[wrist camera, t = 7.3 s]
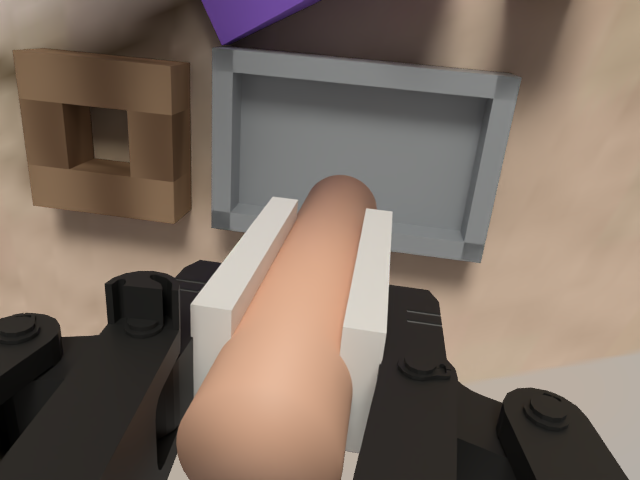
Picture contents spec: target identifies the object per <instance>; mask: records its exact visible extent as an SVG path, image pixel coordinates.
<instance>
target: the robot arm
mask: <svg viewBox="0 0 640 480" xmlns="http://www.w3.org/2000/svg"><path fill="white" fill-rule="evenodd" d="M297 210H298V200H296V199H288V198H280V197H272V198H271V200H270V201H269V202H268V204H267V205H266V206H265V207H264V209H263V210H262V211H261V213H260V214H259V215H258V217H257V218H256V219H255V221H254V222H253V223H252V224H251V226H250V227H249V228H248V230H247V231H246V232H245V234H244V235H243V236H242V238H241V239H240V240H239V241H238V243H237V244H236V245H235V247H234V248H233V249H232V251H231V252H230V253H229V255H228V256H227V257H226V258H225V260H224V261H223V262H222V263H218V262H211V261H203V260H199V261H197V262H195V263H193V264H191V265H189V266H187V267H185V268H184V269H183V270H182V271H181V272H180V273H179V274H178V275H177V276H176V277H175V278H174V277H172V276H170V275H168V274H166V273H161V272H155V271H137V272H131V273H125V274H122V275H120V276H117V277H114V278H112V279H111V280H109V281H108V282H107V283H105V293H106V305H107V318H108V324H107V326H106V327H105V328H104V329H103V331H102V332H101V333H100V335H94V336H76V337H61V330H60V325H59V323H58V322H57V320H56V319H55V318H52V317H50V316H48V315H44V314H36V313H25V314H24V313H21V314H14V315H12V316H9V317H5V318H1V319H0V480H167V479H168V476H169V473H170V471H171V468H172V465H173V463H174V460H175V458H176V455H177V446H176V439H177V432H178V428H179V425H180V422H181V420H182V418H183V416H184V415H185V413H186V411H187V409H188V408H189V406H190V404H191V402H192V400H193V399H194V397H195V395H196V393H197V392H198V390H199V388H200V386H201V384H202V383H203V381H204V379H205V377H206V375H207V374H208V372H209V370H210V368H211V367H212V365H213V363H214V361H215V359H216V358H217V356H218V354H219V352H220V351H221V349H222V348H223V346H224V345H225V344H226V343H227V342H228V341H229V340H230V339H231V338H232V336H233V334H234V332H235V330H236V328H237V327H238V325H239V323H240V321H241V319H242V318H243V316H244V314H245V312H246V310H247V308H248V307H249V305H250V303H251V301H252V299H253V298H254V296H255V294H256V292H257V290H258V288H259V287H260V285H261V283H262V281H263V279H264V278H265V276H266V274H267V272H268V270H269V268H270V267H271V265H272V263H273V261H274V259H275V258H276V256H277V254H278V252H279V250H280V248H281V247H282V245H283V243H284V241H285V239H286V238H287V236H288V234H289V232H290V230H291V228H292V227H293V225H294V223H295V221H296V219H297ZM392 213H393V212H392V211H384V210H376V209H368V208H366V212H365V217H364V222H363V227H362V232H361V237H360V242H359V247H358V253H357V258H356V263H355V268H354V273H353V278H352V283H351V288H350V293H349V298H348V303H347V308H346V313H345V319H344V324H343V330H342V338H341V347H340V356H341V358H342V359H343V361H344V362H345V364H346V366H347V368H348V370H349V373H350V376H351V380H352V387H353V394H352V403H351V410H350V418H349V425H348V433H347V440H346V448H345V451H349V452H355V453H359V456H358V461H357V465H356V469H355V473H354V478H353V480H629V479H628V478H627V476H626V475H625V473H624V472H623V470H622V469H621V468H620V466H619V464H618V463H617V461H616V460H615V458H614V457H613V455H612V454H611V452H610V451H609V450H608V448H607V446H606V445H605V443H604V442H603V440H602V439H601V437H600V436H599V434H598V433H597V431H596V430H595V428H594V427H593V425H592V424H591V422H590V421H589V419H588V418H587V417H586V416H585V414H584V413H583V412H582V411H581V410H580V409H579V408H578V407H577V406H576V405H574V404H572V403H571V402H570V401H568V400H566V399H565V398H563V397H561V396H559V395H557V394H555V393H552V392H549V391H546V390H540V389H535V388H518V389H515V390H513V391H511V392H509V393H507V395H506V397H505V398H504V400H503V403H501V402H498V401H496V400H493V399H490V398H488V397H485V396H482V395H480V394H478V393H475V392H473V391H471V390H470V389H468V388H467V387H465V386H463V385H462V384H461V383H460V382H459V381H458V377H457V374H456V370H455V368H454V367H453V366H452V365H451V364H450V363H449V361H448V360H447V358H446V351H445V344H444V336H443V329H442V322H441V317H440V307H439V302H438V300H437V299H436V298H435V297H434V296H433V295H432V294H431V293H430V291H429V290H423V289H416V288H409V287H401V286H394V285H389V273H390V253H391V233H392Z"/></svg>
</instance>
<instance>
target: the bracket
mask: <svg viewBox="0 0 640 480" xmlns="http://www.w3.org/2000/svg"><path fill="white" fill-rule="evenodd" d="M201 1H202V3H203V5H204V7H205V10H206V12H207V14H208V16H209V18H210V21H211V23H212V25H213V27H214V29H215V32H216V34H217V36H218V38H219V40H220V43H221V45H230V44H232V43H234V42H236V41H238V40H240V39H242V38H244V37H246V36H248V35H250V34H252V33H254V32H257V31H259V30H261V29H263V28H265V27H267V26H269V25H271V24H273V23H275V22H277V21H279V20H281V19H284V18H286V17H288V16H290V15H292V14H294V13H296V12H298V11H300V10H302V9H304V8H306V7H309V6H311V5H313V4H315V3H317V2H319V1H321V0H201Z"/></svg>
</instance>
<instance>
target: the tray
mask: <svg viewBox="0 0 640 480" xmlns="http://www.w3.org/2000/svg"><path fill="white" fill-rule="evenodd" d="M520 82H521V77H519V76H516V75H514V74H512V73H504V72H493V71H483V70H473V69H462V68H452V67H442V66H431V65H421V64H410V63H400V62H390V61H379V60H369V59H359V58H348V57H338V56H328V55H317V54H307V53H296V52H286V51H276V50H265V49H255V48H245V47H234V46H222V47H213V48H212V228H216V229H223V230H231V231H239V232H246V231H247V230H248V228H249V227H250V226H251V224H252V223H253V222H254V221H255V219H256V218H257V217H258V215H259V214H260V213H261V211H262V210H263V209H264V207H265V206H266V205H267V204H268V202H269V201H270V200H271V198H272V197H280V198H288V199H296V200H298V210H297V213H298V212H299V210H300V208H301V206H302V205H303V203H304V201H305V199H306V197H307V196H308V194H309V192H310V191H311V189H312V188H313V187H314V185H316V184H317V183H318V182H319V181H321V180H322V179H324V178H326V177H329V176H333V175H346V176H351V177H354V178H356V179H358V180H360V181H361V182H363V183H364V184H365V185H366V186H367V187H368V188H369V189H370V191H371V192H372V194H373V196H374V198H375V201H376V206H377V210H384V211H392V212H393V213H392V233H391V251H392V252H400V253H407V254H415V255H423V256H430V257H438V258H446V259H453V260H461V261H469V262H476V263H481V259H482V254H483V250H484V245H485V241H486V236H487V231H488V227H489V222H490V218H491V213H492V209H493V204H494V200H495V195H496V191H497V186H498V182H499V177H500V173H501V168H502V164H503V159H504V155H505V150H506V146H507V141H508V137H509V132H510V128H511V123H512V119H513V114H514V109H515V105H516V100H517V96H518V91H519V87H520Z"/></svg>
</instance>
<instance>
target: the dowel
mask: <svg viewBox="0 0 640 480" xmlns="http://www.w3.org/2000/svg"><path fill="white" fill-rule="evenodd" d="M366 208H368V209H376V210H377V206H376V201H375V198H374V196H373V194H372V192H371V191H370V189H369V188H368V187H367V186H366V185H365V184H364V183H363V182H361V181H360V180H358V179H356V178H354V177H351V176H346V175H333V176H329V177H326V178H324V179H322V180H321V181H319V182H318V183H317V184H316V185H314V187H313V188H312V189H311V191H310V192H309V194H308V196H307V197H306V199H305V201H304V203H303V205H302V206H301V208H300V210H299V212H298V213H297V219H296V221H295V223H294V225H293V227H292V228H291V230H290V232H289V234H288V236H287V238H286V239H285V241H284V243H283V245H282V247H281V248H280V250H279V252H278V254H277V256H276V258H275V259H274V261H273V263H272V265H271V267H270V268H269V270H268V272H267V274H266V276H265V278H264V279H263V281H262V283H261V285H260V287H259V288H258V290H257V292H256V294H255V296H254V298H253V299H252V301H251V303H250V305H249V307H248V308H247V310H246V312H245V314H244V316H243V318H242V319H241V321H240V323H239V325H238V327H237V328H236V330H235V332H234V334H233V336H232V338H231V339H230V340H229V341H228V342H227V343H226V344H225V345H224V346H223V348H222V349H221V351H220V352H219V354H218V356H217V358H216V359H215V361H214V363H213V365H212V367H211V368H210V370H209V372H208V374H207V375H206V377H205V379H204V381H203V383H202V384H201V386H200V388H199V390H198V392H197V393H196V395H195V397H194V399H193V400H192V402H191V404H190V406H189V408H188V409H187V411H186V413H185V415H184V416H183V418H182V420H181V422H180V425H179V428H178V432H177V439H176V446H177V454H178V457H179V460H180V463H181V465H182V468H183V470H184V472H185V473H186V475H187V477H188V478H189V479H190V480H341V476H342V470H343V463H344V455H345V448H346V440H347V433H348V425H349V418H350V410H351V403H352V394H353V387H352V380H351V376H350V373H349V370H348V368H347V366H346V364H345V362H344V361H343V359H342V358H341V356H340V347H341V338H342V330H343V324H344V319H345V313H346V308H347V303H348V298H349V293H350V288H351V283H352V278H353V273H354V268H355V263H356V258H357V253H358V247H359V242H360V237H361V232H362V227H363V222H364V217H365V212H366Z"/></svg>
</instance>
